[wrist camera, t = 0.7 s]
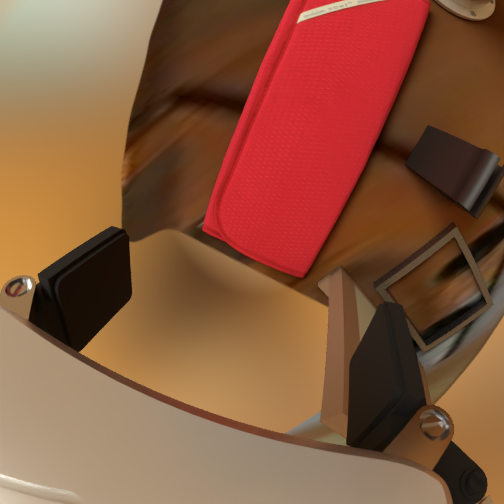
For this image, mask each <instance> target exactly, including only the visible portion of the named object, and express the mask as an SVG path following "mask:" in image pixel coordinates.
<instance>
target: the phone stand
mask: <svg viewBox="0 0 504 504" xmlns="http://www.w3.org/2000/svg"><path fill="white" fill-rule="evenodd" d="M499 160H500V158H499V157H498V156H496V155H495V154H494V153H492V152H491V151H489V150H487V149H481V148H478V147H476V146H474V145H472V144H470V143H468V142H466V141H463V140H461V139H459V138H457V137H455V136H452V135H450V134H448V133H446V132H443V131H441V130H439V129H436V128H434V127H431V126H429V125H428V126H427V128H426V130H425V131H424V133H423V135H422V137H421V138H420V140H419V142H418V143H417V145H416V147H415V148H414V150H413V152H412V153H411V155H410V157H409V158H408V160H407V161H406V163H405V165H406V166H408V167H409V168H410V169H412V170H413V171H414V172H415V173H417V174H418V175H419V176H421V177H422V178H423V179H424V180H426V181H427V182H428V183H429V184H431V185H432V186H433V187H434V188H435V189H436V190H438V191H439V192H440V193H441V194H442V195H444V196H445V197H446V198H447V199H448V200H449V201H450V202H452V203H453V204H454V205H455V206H457V207H459V208H460V209H462V210H464V211H466V212H468V213H469V214H470V215H472V216H473V217H474V218H475V219H478V218H479V216H480V214H481V213H482V211H483V210H484V208H485V207H486V205H487V203H488V202H489V200H490V199H491V197H492V195H493V194H494V192H495V190H496V189H497V187H498V185H499V183H500V182H501V180H502V178H503V176H504V165H503V167H500V166H499V165H497V164H498V162H499Z"/></svg>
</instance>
